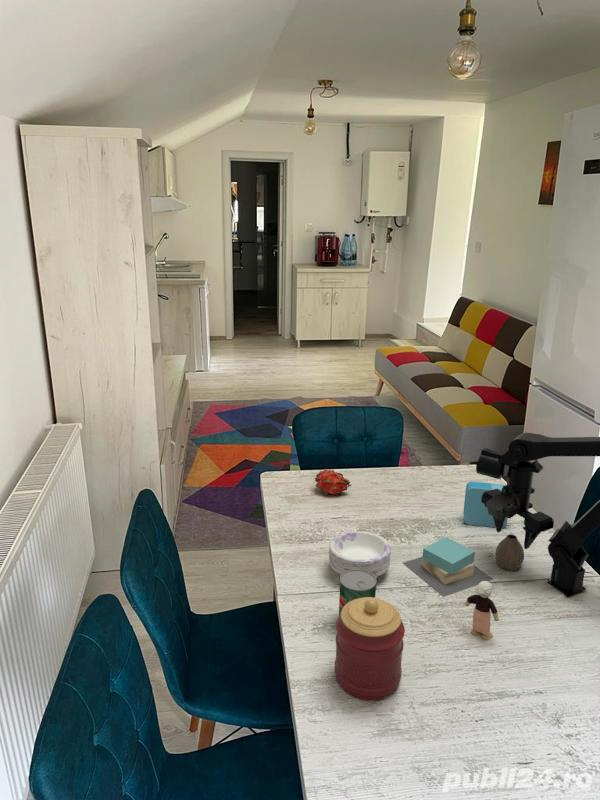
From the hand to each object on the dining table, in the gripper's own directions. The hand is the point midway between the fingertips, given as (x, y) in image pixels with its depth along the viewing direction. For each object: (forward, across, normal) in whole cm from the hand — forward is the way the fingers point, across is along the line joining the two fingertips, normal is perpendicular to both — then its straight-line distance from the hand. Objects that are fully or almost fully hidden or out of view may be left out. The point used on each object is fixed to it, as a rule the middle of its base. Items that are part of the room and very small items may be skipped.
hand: (512, 539), depth 154 cm
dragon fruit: (+8, -57, -19) cm, 61 cm away
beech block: (+7, -5, -16) cm, 18 cm away
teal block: (+4, -5, -16) cm, 17 cm away
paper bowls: (+8, -15, -36) cm, 40 cm away
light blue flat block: (+8, -20, +11) cm, 24 cm away
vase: (+8, 0, 0) cm, 8 cm away
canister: (+8, +16, -54) cm, 57 cm away
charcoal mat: (+8, -5, -16) cm, 19 cm away
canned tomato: (+8, +1, -47) cm, 48 cm away
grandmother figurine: (+8, +16, -25) cm, 31 cm away
